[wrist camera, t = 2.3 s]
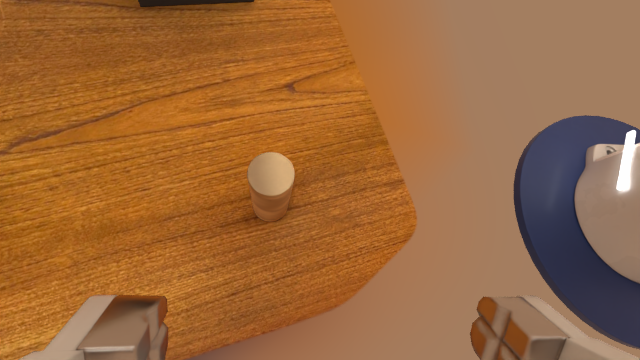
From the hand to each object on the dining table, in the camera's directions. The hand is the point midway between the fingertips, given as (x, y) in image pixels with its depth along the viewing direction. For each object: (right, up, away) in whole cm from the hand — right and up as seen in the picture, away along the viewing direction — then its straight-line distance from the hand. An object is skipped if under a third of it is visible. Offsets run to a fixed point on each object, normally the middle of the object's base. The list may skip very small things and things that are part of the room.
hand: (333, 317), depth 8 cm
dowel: (-5, +1, +25) cm, 25 cm away
